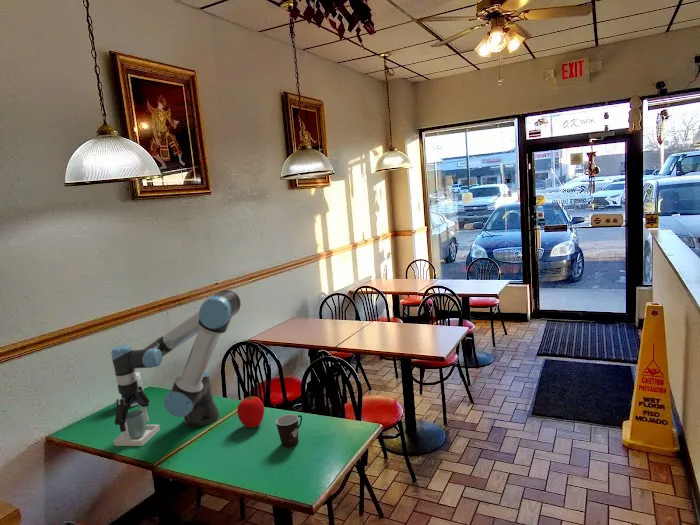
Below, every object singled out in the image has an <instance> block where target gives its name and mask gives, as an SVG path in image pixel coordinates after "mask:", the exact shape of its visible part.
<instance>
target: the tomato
mask: <svg viewBox="0 0 700 525" xmlns="http://www.w3.org/2000/svg"><path fill="white" fill-rule="evenodd" d="M236 411H237V413H236V414H237V416H238V417H237V418H238V420H239V421H240V423H241V424H242V425H243V426H244V427H246V428H250V429H251V428H256V427H258V426H259V425H261V423H262V421H263V419H264V415H265V406H264V402H263V401H262V400H261V398H259V397H258V396H255V395H252V396H247V397H245V398H243V399H242V400H241V401H240V402H239V404H238V406H237V410H236Z"/></svg>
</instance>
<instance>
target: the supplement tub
mask: <svg viewBox="0 0 700 525" xmlns="http://www.w3.org/2000/svg"><path fill="white" fill-rule="evenodd" d="M135 373H136V377H137V379H136V380H137V384H138V386H141V387H142V390H143V391H144V389H143V388H144V387H143V381H142V377H141V376H142V375H141V373H140V371H139V372H138V371H135ZM137 395H138V394H137ZM125 405H127V404H125ZM136 405H137V406H138V405H139V404H138V403H136V402H133V403H132V404H131V406H130V407H137V406H136ZM139 406H140V405H139ZM130 407H129V408H130Z"/></svg>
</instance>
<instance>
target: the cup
mask: <svg viewBox="0 0 700 525" xmlns="http://www.w3.org/2000/svg"><path fill="white" fill-rule="evenodd" d="M125 422H127V426H128V432H129V437H130V438H139V437H141V436H142V435H144V433H145V431H146V425H147V424H146V422H147V421H145V416H144V412H143V411H142V410H140V409H135V410H131V411H128V413H127V417H126V421H125Z"/></svg>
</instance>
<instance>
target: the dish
mask: <svg viewBox="0 0 700 525" xmlns="http://www.w3.org/2000/svg"><path fill="white" fill-rule="evenodd" d="M160 427H161V426H160V424H146V431H145V433H144V435H142V436H141V437H139V438H130V437H129V438H123V437H122V433H121V434H120V435H119V436H117V437H116V438H115V439H113V445H114V447H116V446H117V447H125V446H126V447H143V446H144V445H145V444H146V443H147V442H148V441H149V440H151V439H152V438H153V437H154V436H155V435H156V434H157V433H158V432H160V430H161V428H160ZM142 445H143V446H142Z"/></svg>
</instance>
